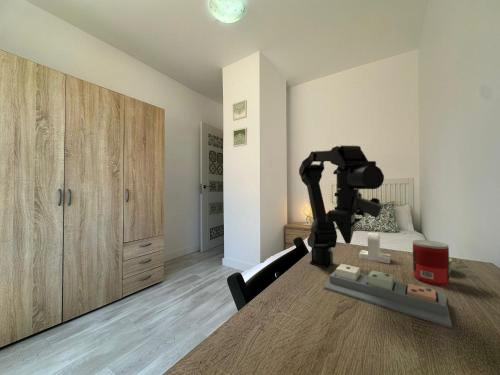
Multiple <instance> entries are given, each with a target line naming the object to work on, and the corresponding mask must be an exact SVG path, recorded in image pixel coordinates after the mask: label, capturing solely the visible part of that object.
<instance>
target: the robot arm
mask: <svg viewBox="0 0 500 375" xmlns="http://www.w3.org/2000/svg"><path fill="white" fill-rule="evenodd" d="M314 162H316V164H315V163H314ZM325 162H329V163H330V164H332V165H334V166H337V167H336V169H334V171H333V175H336V192H334V197H336V206H335V207H334V209H331V210H328V211H327V212H326V207H325V203H324V199H323V194H322V193H323V192H322V189H321V185H320V181H321V180H322V177H323V172H324V170H325V164H324V163H325ZM313 163H314V164H313ZM298 173H299V176H300V179H301V182H302V183H303V184H304V185H305V186H306V189H307V193H308V198H309V205H310V209H311V215H312V220H313V222H312V224H311V227H310V234H309V235H308V237H307V240H306V241H307V246H308V247H309V248H311V261H309V264H310V265H314V266H318V267H322V268H329V267H330V266H332V265H333V264H334V252H333V250H332V248H336V245H337V241H338V233H337V229H336V226H337V228H338V231H339V232H340V234H341V236H342V238H343V240H344V243H345V244H348V245H349V244H351V243H352V238H353V234H354V231H355V228H356V225H357V224H358V223H359V222H361V221H363V219H362V218H357V216H361V217H366V216H367V215H370V216H371V217H373V218H379V217H380V215H381V213H382V211H383V208H384V205H383V204H381V200H380V198H379V199H378V198H376V197H372V198H371V199H370V200H369V199H366V198H363V197H362V196H363V195H362V193H361V192H360V190H376V189H379V188H380V187H381V186H382V185H383V183H384V181H385V175H384V172H383V171H382V170H381V168H380V167H379V166H377V161H376V160H368V158H367V156H366V155H365V153H364V152H363V150H362V148H361V146H359V145H342V144H341V145H339V144H338V145H336V146H334V147H333V146H332V148H331V149H330V150H329V149H327V150H313V151H310V153H309V155H308V156H307V157H306V158H305V159H304V160H303V161H302V162H301V164H300V166H299V170H298Z"/></svg>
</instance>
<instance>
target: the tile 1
mask: <svg viewBox="0 0 500 375" xmlns="http://www.w3.org/2000/svg"><path fill="white" fill-rule="evenodd" d="M335 270H336V276H337V277H341V278H345V279H349V280H352V281H357V279H358V278H359V276H360V273H361V269H360V266H359V267H358V266H353V265H351V264H350V265H348V264H344V263H340V265H338V266H337V267H336V269H335Z"/></svg>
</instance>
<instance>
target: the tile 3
mask: <svg viewBox="0 0 500 375" xmlns="http://www.w3.org/2000/svg"><path fill="white" fill-rule="evenodd" d="M407 284H408V289H407V295H410V296H414V297H418V298H422V299H425V300H429V301H433V302H436V293H435V291H436V289H433V288H429V287H425V286H419V285H416V284H412V283H407Z"/></svg>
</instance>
